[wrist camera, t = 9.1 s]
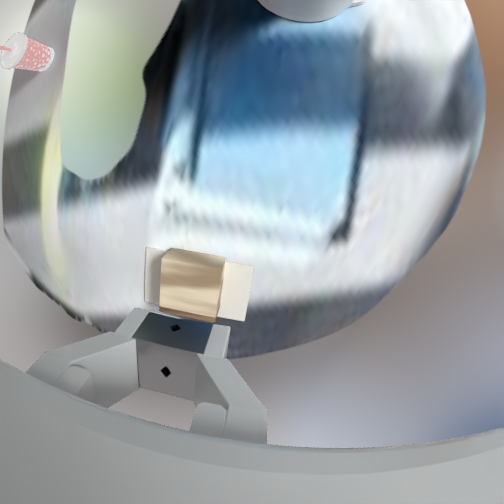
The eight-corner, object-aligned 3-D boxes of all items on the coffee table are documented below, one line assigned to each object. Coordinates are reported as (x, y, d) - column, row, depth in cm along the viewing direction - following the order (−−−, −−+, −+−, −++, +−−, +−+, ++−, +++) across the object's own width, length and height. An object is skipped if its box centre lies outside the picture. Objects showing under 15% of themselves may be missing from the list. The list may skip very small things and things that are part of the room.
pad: (147, 246, 44) (146, 247, 43) (254, 266, 43) (254, 266, 43) (145, 300, 46) (144, 301, 46) (244, 320, 46) (244, 321, 46)
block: (161, 258, 39) (159, 311, 41) (221, 269, 39) (214, 322, 41) (171, 247, 43) (168, 297, 46) (226, 257, 43) (219, 307, 45)
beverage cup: (28, 68, 35) (-26, 58, 22) (46, 39, 33) (-6, 22, 20) (44, 80, 36) (-13, 70, 22) (63, 49, 34) (8, 31, 21)
